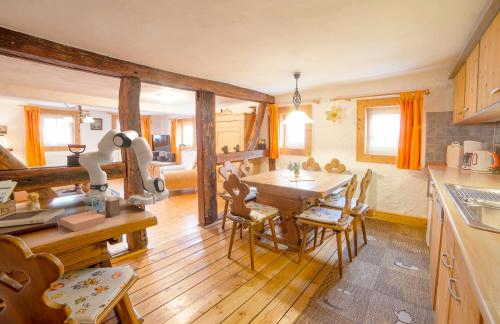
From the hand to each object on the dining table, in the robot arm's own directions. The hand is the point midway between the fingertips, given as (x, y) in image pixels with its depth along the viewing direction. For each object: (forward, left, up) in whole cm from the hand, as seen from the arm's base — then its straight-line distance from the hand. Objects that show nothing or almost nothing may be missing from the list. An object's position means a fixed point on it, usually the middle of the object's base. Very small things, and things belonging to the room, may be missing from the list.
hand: (130, 202), depth 163 cm
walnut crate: (0, -12, -6) cm, 13 cm away
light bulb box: (-16, -15, -6) cm, 23 cm away
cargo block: (0, -12, +4) cm, 13 cm away
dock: (0, -29, -6) cm, 29 cm away
